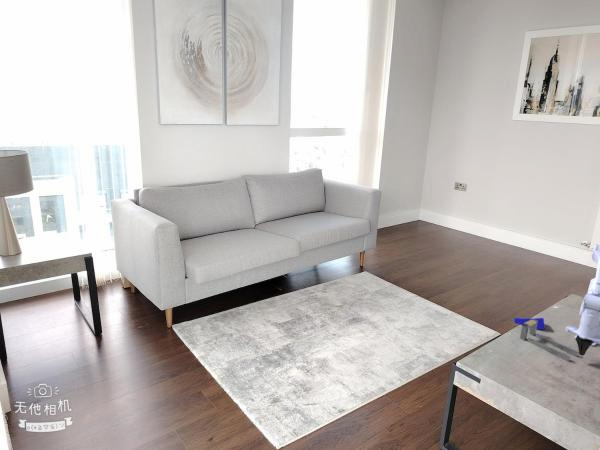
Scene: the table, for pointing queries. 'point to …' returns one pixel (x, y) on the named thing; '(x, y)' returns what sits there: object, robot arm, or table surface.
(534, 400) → the table surface
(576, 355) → the guide channel
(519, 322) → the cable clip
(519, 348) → the table surface
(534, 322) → the bracket
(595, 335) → the robot arm
